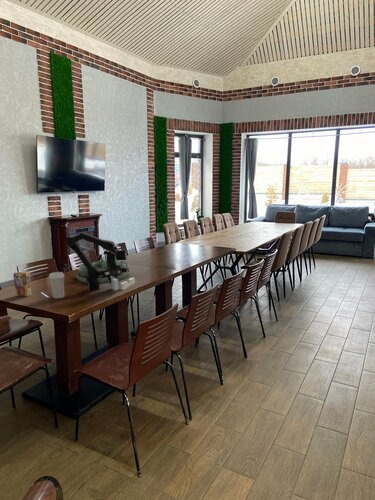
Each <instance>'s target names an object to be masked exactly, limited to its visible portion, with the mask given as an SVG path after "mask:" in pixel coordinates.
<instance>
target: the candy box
mask: <svg viewBox="0 0 375 500" xmlns="http://www.w3.org/2000/svg"><path fill="white" fill-rule="evenodd" d="M12 275H13V283H14V292H15V297H16V296H26V297H30V296H32V295H31V294H33V293H32V285H31V277H30V271H16V272H13V274H12ZM29 295H30V296H29Z"/></svg>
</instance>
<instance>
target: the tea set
mask: <svg viewBox="0 0 375 500" xmlns="http://www.w3.org/2000/svg"><path fill="white" fill-rule="evenodd" d="M115 260H116V265H117V266H118V265H120V266H121V267H125V268H126V269H127V272H123V273H122V272H121V271H120V274H119V275H118V276H117V280H118V281H121V280H124V279H126V278H128V277H130V276H131V269H130V268H128V267H129V266H128V263H127V261H126V260H117V259H116V254H115ZM91 263H92V264H93V265H94V266H96V265H97V266H98V268H99V269H100V270H101V269H103V270H107V259H106V258H105V259H103V258H101V259H100V260H97V261H93V262H91ZM79 267H80V268H78V273H77V274H75V275H76V276H75V277H76V278H77V280H78V281H79V282H82V283H85V284H86V283H87V284H88V282H87V280H86V279H87V278H88V277H89V274H88V271H87V268H86V266H85V265H84V264H83V263H82V264H80V265H79ZM109 274H110V277H111V276H114V274H111V273H109ZM97 280H98V282H99V284H103V283H110V282H109V280H108V278H107V276H105V275H101V276H99V277H98V279H97Z"/></svg>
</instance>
